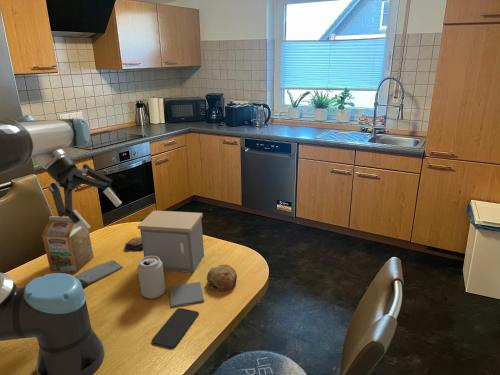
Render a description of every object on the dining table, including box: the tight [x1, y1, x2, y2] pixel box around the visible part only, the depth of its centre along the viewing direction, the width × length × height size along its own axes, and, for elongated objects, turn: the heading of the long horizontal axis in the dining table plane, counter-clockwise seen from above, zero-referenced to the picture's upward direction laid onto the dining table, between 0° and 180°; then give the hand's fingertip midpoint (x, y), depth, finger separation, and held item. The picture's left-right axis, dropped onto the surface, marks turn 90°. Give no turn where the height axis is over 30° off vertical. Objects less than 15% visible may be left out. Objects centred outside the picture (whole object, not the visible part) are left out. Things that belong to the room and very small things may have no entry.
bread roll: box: [206, 264, 238, 292], centre depth 123 cm, size 10×10×8 cm
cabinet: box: [137, 210, 205, 274], centre depth 133 cm, size 14×19×17 cm
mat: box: [169, 281, 205, 308], centre depth 118 cm, size 10×10×1 cm
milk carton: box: [41, 215, 95, 274], centre depth 135 cm, size 11×11×19 cm
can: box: [137, 256, 166, 300], centre depth 117 cm, size 8×8×12 cm
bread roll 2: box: [123, 236, 143, 253], centre depth 149 cm, size 11×8×4 cm
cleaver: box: [73, 259, 123, 289], centre depth 127 cm, size 30×10×2 cm, turn 142°
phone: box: [151, 307, 200, 349], centre depth 104 cm, size 7×1×15 cm
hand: (104, 216), depth 115 cm, fingers open, 13 cm apart
